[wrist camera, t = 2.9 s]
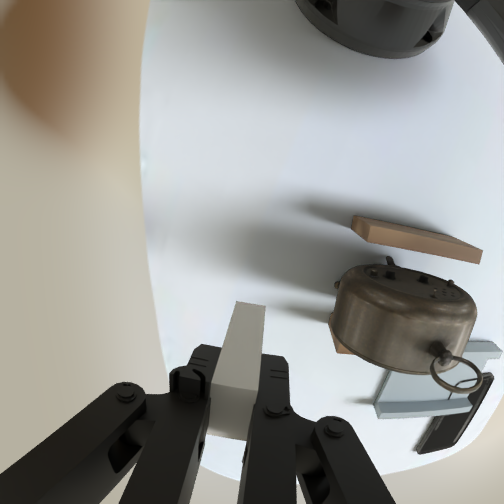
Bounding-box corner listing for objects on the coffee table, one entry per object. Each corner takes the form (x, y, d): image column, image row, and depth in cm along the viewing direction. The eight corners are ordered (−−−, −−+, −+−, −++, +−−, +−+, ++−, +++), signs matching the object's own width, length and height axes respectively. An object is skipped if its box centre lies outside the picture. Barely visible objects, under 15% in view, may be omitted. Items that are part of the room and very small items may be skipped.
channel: (353, 215, 24) (370, 225, 20) (454, 237, 24) (482, 250, 19) (328, 324, 27) (336, 353, 22) (424, 333, 27) (443, 358, 22)
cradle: (403, 338, 27) (411, 350, 25) (492, 341, 26) (502, 351, 24) (373, 404, 29) (378, 419, 27) (461, 400, 29) (469, 411, 26)
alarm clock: (319, 299, 27) (356, 437, 11) (331, 241, 25) (400, 342, 10) (421, 310, 26) (508, 416, 10) (436, 258, 25) (549, 340, 9)
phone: (496, 374, 27) (454, 446, 31) (492, 369, 28) (452, 442, 32) (456, 381, 27) (414, 455, 31) (452, 376, 28) (412, 450, 32)
